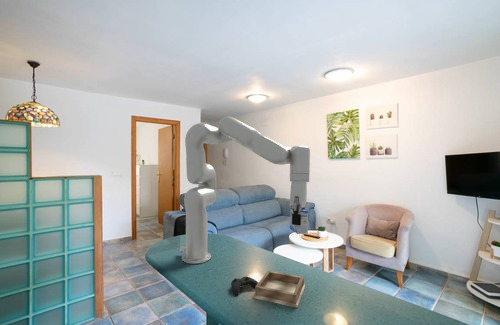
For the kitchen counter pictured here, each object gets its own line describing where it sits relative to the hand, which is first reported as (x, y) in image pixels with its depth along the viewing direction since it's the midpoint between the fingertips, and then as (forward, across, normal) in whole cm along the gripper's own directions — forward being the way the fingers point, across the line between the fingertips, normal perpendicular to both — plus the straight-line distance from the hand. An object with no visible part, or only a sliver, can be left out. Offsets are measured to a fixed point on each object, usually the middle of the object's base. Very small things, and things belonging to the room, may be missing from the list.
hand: (298, 222), depth 94 cm
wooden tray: (+20, +16, -3) cm, 26 cm away
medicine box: (+4, 0, 0) cm, 4 cm away
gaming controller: (+21, +19, -15) cm, 31 cm away
